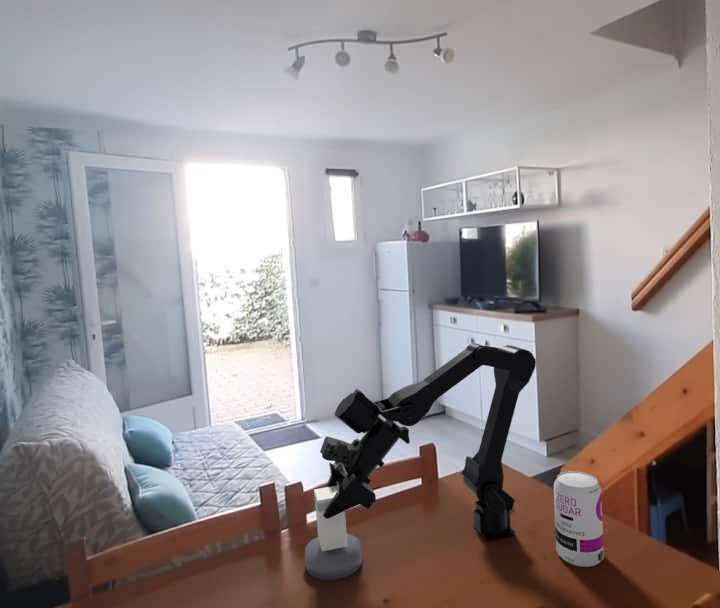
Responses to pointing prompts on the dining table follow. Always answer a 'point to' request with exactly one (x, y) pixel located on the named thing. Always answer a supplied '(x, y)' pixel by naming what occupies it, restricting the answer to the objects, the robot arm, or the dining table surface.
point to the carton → (329, 521)
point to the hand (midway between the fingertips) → (323, 510)
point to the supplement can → (578, 518)
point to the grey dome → (333, 559)
